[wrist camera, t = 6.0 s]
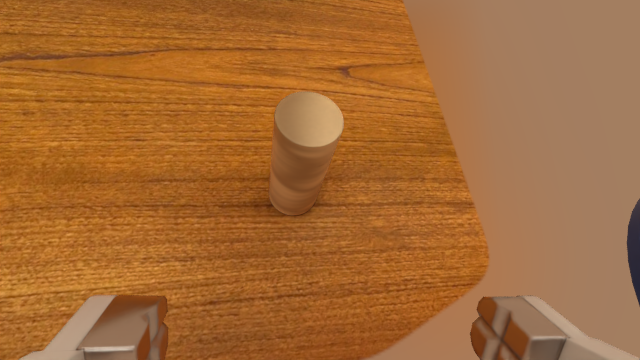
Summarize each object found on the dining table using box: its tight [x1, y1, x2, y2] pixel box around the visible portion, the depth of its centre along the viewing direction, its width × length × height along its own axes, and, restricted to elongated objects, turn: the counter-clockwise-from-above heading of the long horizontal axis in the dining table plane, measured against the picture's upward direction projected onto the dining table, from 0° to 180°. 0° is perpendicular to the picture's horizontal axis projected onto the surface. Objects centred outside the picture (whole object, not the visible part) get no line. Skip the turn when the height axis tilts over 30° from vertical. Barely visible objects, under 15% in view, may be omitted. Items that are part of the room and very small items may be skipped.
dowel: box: [269, 92, 344, 215], centre depth 20 cm, size 4×4×9 cm
